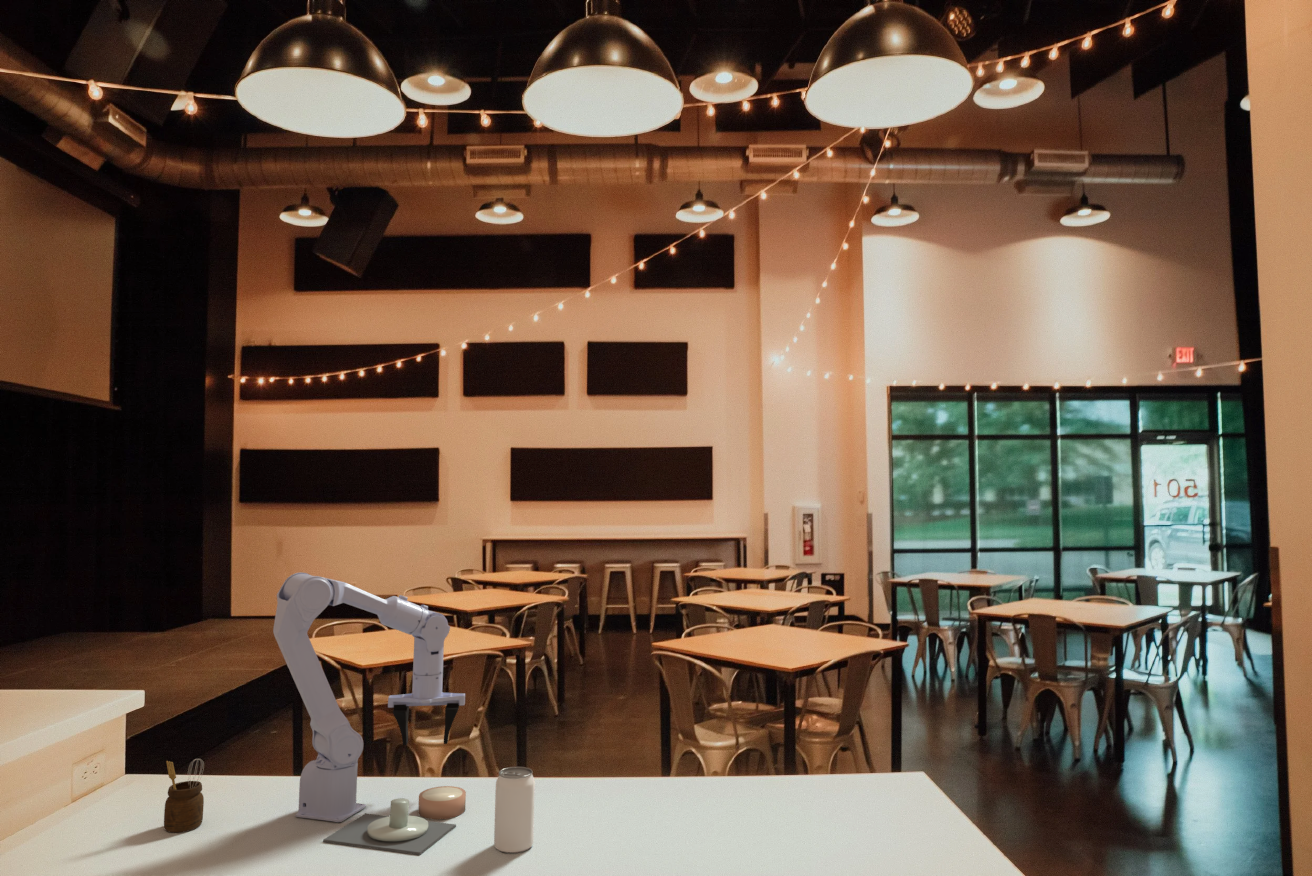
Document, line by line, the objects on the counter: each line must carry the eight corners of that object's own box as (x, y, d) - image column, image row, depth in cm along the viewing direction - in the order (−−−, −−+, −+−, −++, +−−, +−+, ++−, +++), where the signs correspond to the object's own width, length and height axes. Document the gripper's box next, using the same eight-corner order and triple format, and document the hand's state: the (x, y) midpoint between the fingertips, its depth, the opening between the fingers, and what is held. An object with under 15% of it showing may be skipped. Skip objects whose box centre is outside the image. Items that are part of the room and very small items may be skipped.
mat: (323, 841, 139) (323, 839, 139) (365, 815, 151) (365, 813, 151) (420, 854, 134) (420, 852, 134) (455, 826, 146) (455, 824, 146)
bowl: (409, 816, 150) (409, 799, 151) (432, 800, 158) (433, 783, 159) (451, 821, 148) (452, 804, 148) (473, 804, 156) (473, 788, 157)
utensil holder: (210, 823, 146) (214, 753, 147) (176, 836, 140) (180, 763, 141) (187, 817, 148) (191, 748, 149) (153, 830, 143) (157, 758, 143)
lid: (354, 833, 141) (356, 803, 141) (397, 815, 149) (399, 788, 150) (398, 845, 136) (400, 814, 137) (440, 827, 145) (442, 798, 145)
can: (525, 855, 135) (527, 779, 135) (487, 851, 136) (489, 776, 137) (538, 839, 141) (540, 767, 142) (502, 836, 142) (504, 764, 143)
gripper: (386, 677, 159) (384, 750, 158) (464, 676, 161) (462, 747, 161) (391, 670, 166) (389, 739, 165) (466, 668, 168) (464, 737, 167)
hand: (425, 743), depth 163 cm, fingers open, 7 cm apart
